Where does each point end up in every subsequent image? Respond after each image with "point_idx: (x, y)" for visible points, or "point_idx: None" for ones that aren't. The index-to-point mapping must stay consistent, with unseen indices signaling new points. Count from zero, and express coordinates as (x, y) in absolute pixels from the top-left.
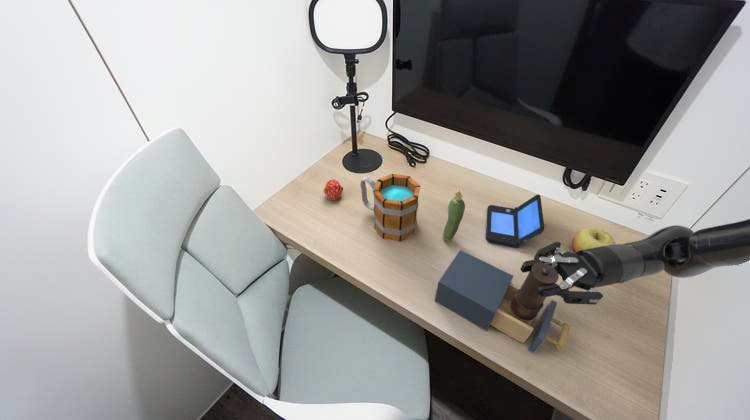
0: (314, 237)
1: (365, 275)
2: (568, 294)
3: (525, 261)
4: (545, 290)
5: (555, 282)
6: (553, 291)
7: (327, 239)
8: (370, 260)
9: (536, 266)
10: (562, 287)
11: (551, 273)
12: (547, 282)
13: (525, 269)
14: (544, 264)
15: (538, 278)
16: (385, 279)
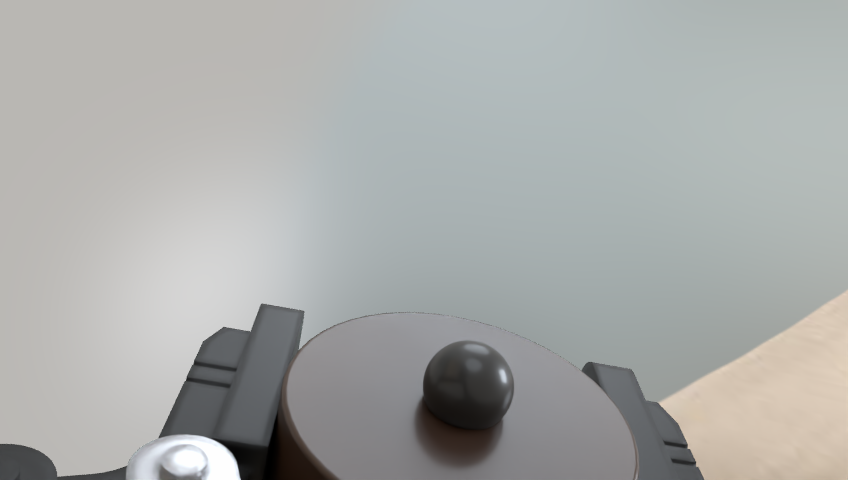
0: (836, 345)
1: (684, 411)
2: (27, 455)
3: (672, 422)
4: (244, 348)
5: (282, 423)
6: (189, 393)
7: (840, 368)
8: (769, 445)
9: (572, 392)
10: (168, 449)
11: (433, 449)
12: (315, 343)
13: None
14: (606, 478)
15: (398, 318)
16: None
